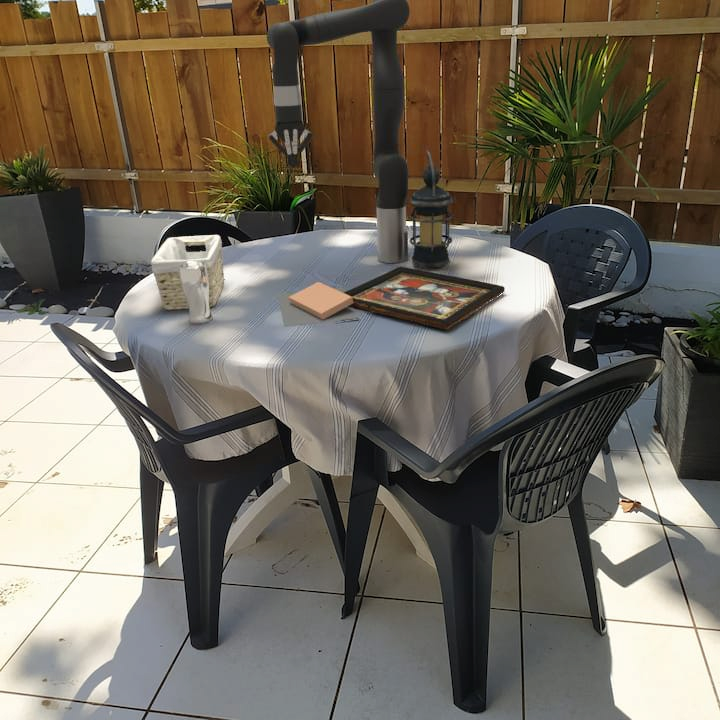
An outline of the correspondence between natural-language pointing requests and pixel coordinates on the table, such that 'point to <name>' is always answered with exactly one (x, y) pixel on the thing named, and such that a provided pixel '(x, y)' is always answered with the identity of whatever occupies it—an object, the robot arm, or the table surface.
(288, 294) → the mat
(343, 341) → the table surface
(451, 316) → the religious icon
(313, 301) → the tile
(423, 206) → the lantern
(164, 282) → the storage basket
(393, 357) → the table surface
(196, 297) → the beer glass
